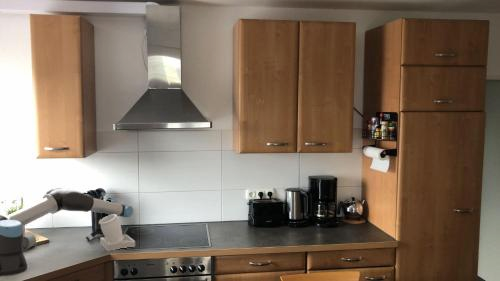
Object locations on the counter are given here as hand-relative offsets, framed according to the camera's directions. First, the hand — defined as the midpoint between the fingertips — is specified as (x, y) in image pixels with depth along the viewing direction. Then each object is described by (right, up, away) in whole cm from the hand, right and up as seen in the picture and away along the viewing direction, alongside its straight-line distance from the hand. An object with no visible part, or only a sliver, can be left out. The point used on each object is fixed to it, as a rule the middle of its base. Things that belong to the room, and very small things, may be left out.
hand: (99, 230), depth 253 cm
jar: (+11, -6, -1) cm, 12 cm away
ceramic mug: (-38, -8, -10) cm, 41 cm away
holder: (+11, -8, -1) cm, 14 cm away
